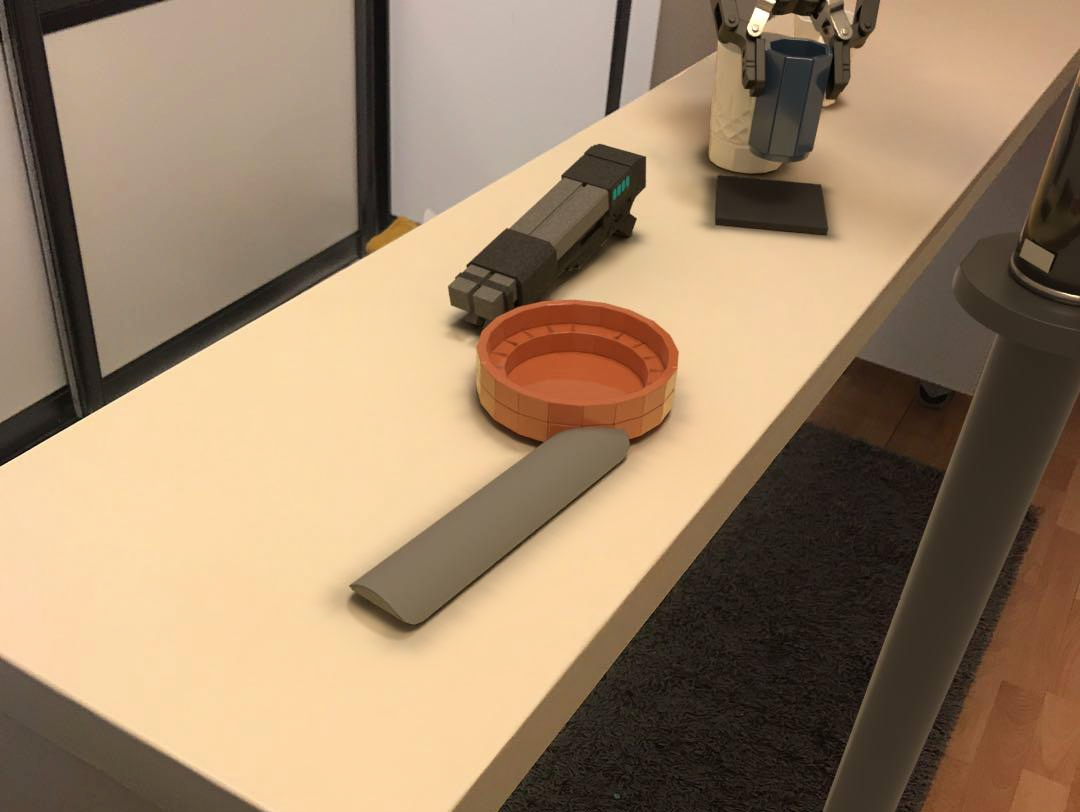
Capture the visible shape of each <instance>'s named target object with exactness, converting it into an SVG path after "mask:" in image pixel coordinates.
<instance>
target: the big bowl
mask: <svg viewBox="0 0 1080 812" xmlns="http://www.w3.org/2000/svg"><path fill="white" fill-rule="evenodd" d="M477 341H478V342H477V344H476V354H475V355H476V357H475V358H476V359H475V360H476V363H475V364H476V370H475V371H476V372H475V373H476V377H475V378H476V385H475V386H476V391H477V394H478V398H479V403H480V405H481V406H482V407H483V408H484V409H485V411H486V412H487V413H488V414H489V415H490V416H491V418H492V419H493V420H494V421H496V422H497V423H499V424H501V425H502V426H504V427H505V428H507V429H509V430H511V431H513V432H514V433H516V434H518V435H520V436H523V437H527V438H529V439H533V440H535V441H539V442H542V443H544V442H545V441H547V440H548V439H550V438H551V437H552V436H554V435H555V434H557V433H559V432H562V431H564V430H568V429H574V428H586V427H605V428H611V429H613V428H614V429H625V431H626V432H627V434H628V438H629V440H632V439H634V438H638V437H641V436H643V435H644V434H646V433H647V432H649V431H651V430H652V429H654V428H656V427H657V426H659V425H660V424H661V423H662V422H663V420H664V419H665V418H666V417H667V415H668V414H669V412H670V411H671V409H672V408H673V403H674V396H675V390H676V382H677V376H678V369H679V355H680V351H679V349H678V347H677V345H676V344H675V342H674V340H673V338H672V335H671V333H669V332H668V331H666V330H665V329H664V328H663V327H662V326H661V325H660V324H658V323H657V322H656V321H654V320H653V319H651V318H648V317H646V316H644V315H642V314H640V313H638V312H636V311H634V310H633V309H630V308H625V307H622V306H617V305H614V304H610V303H607V302H602V301H591V300H583V299H582V300H581V299H558V300H555V299H554V300H542V301H538V302H534V303H533V304H529V305H524V306H520V307H517V308H515V309H513V310H511V311H509V312H506V313H504V314H502V315H500V316H498V317H496V318H495V319H494V320H493V321H492V322H491V323H490V324H489V325H488V326H487V327H486V328H483V329H482V331H481V333H480V335H479V338H478V340H477Z"/></svg>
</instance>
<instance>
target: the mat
mask: <svg viewBox="0 0 1080 812" xmlns="http://www.w3.org/2000/svg"><path fill="white" fill-rule="evenodd" d="M715 197H716V199H715V225H720V226H731V227H742V228H752V229H761V230H772V231H783V232H793V233H801V234H802V233H804V234H815V235H824V236H827V235H828V231H829V225H828V219H827V212H826V206H825V199H824V194H823V187H822V184H820V183H809V182H799V181H787V180H780V179H779V180H778V179H768V178H767V179H766V178H756V177H745V176H734V175H723V174H717V177H716V193H715Z"/></svg>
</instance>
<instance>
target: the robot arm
mask: <svg viewBox="0 0 1080 812" xmlns="http://www.w3.org/2000/svg"><path fill="white" fill-rule="evenodd" d="M709 3H710V8H711V13H712V18H713V24H714V28H715V32H716V38H717V41H718V40H719V42H721V43H723V44H728V43H729V42H730V43H733V44H735V45H737V46H738V47H739V48H740V50H741V55H742V85H743V87H744V89H749V95H750V97H760V95H761V93H762V91H763V90H764V87H765V81H766V77H765V39H761V34H762V32H764V29H765V27H766V25H767V23H768V20H769V18H770V15H772V16H785V15H789V14H793V15H795V14H796V15H800V16H809V17H810V19H811V21H812V23H813V26H814V28H815V30H816V31H817V32H820V34H821V36H822V38H823V41H824V43H825V44H826V45H829V46H830V47H831V48H832V52H833V58H832V63H831V67H830V72H829V77H828V81H827V86H826V91H825V96H826V99H827V100H835V101H837V99H838V98H839V96H840V95H841V94H842V93H843V92H844V90H845V89H846V88H847V86H848V85H849V83H850V80H851V63H850V48H855V50H858V49H861V48H863V46H864V45H865V44H866V43H867V40H868V38H869V37H870V35H871V34H872V33H873V32H874V30H875V29H876V25H877V19H878V15H879V10H880V5H881V0H856V1H855V6H854V11H853V12H854V18H853V23H852V25H850V23H849V21H848V18H847V16H846V14H845V11H844V10H845V1H844V0H757V2H756V4H755V7H754V9H753V12H752V13H751V16H750V17H749V18H750V19H749V20H748V21H747V20H743V19H741V18H740V13H739V8H738V3H737V0H709ZM1043 168H1044V169H1043V171H1042V173H1041V177H1040V179H1039V182H1038V185H1037V187H1036V190H1035V193H1034V197H1033V198H1032V202H1031V205H1030V207H1029V210H1028V213H1027V216H1026V219H1025V222H1024V223H1023V227H1022V230H1021V232H1022V233H1021V235H1020V238H1019V239H1018V242H1017V245H1016V249H1015V251H1014V252H1013V254H1012V257H1011V259H1010V262H1009V265H1008V270H1009V273H1010V275H1011V276H1012V278H1013V279H1014V280H1015V281H1016V282H1017V283H1018V284H1020V285H1021V286H1022V287H1024V288H1025V289H1027V290H1029V291H1030V292H1032V293H1034V294H1036V295H1039V296H1041V297H1043V298H1046V299H1049V300H1052V301H1055V302H1058V303H1062V304H1066V305H1071V306H1076V307H1080V69H1079V70H1078V73H1077V76H1076V78H1075V81H1074V84H1073V86H1072V89H1071V92H1070V95H1069V98H1068V101H1067V103H1066V107H1065V109H1064V112H1063V114H1062V118H1061V120H1060V124H1059V126H1058V129H1057V132H1056V134H1055V137H1054V140H1053V143H1052V146H1051V148H1050V152H1049V154H1048V157H1047V159H1046V163H1045V165H1044V167H1043Z"/></svg>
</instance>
